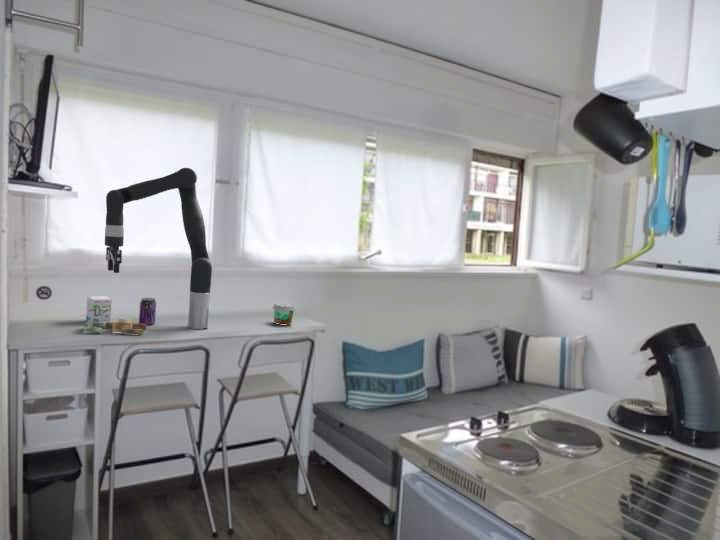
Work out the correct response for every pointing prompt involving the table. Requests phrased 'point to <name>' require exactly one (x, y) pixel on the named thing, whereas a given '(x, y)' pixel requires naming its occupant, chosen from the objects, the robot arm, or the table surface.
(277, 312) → the food container
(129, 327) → the block
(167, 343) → the table surface
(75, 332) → the table surface
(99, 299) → the ink box
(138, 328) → the channel
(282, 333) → the table surface
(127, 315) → the table surface
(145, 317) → the beverage can
